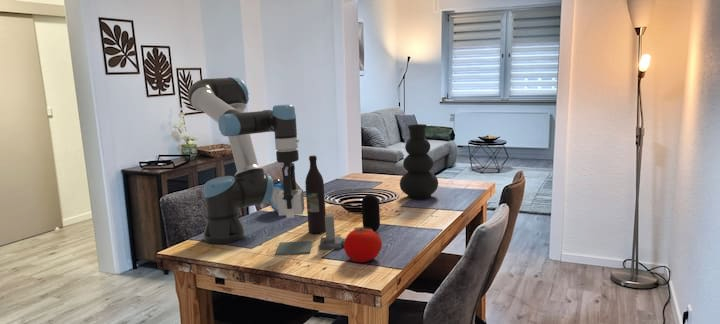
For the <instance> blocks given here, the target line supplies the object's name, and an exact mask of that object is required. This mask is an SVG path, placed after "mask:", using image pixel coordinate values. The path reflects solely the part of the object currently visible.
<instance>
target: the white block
mask: <svg viewBox="0 0 720 324" xmlns="http://www.w3.org/2000/svg"><path fill="white" fill-rule="evenodd" d="M292 197H293V198H292V199H293V202H294V215H295V216H296V215H298V216H299V215H303V213H304V211H305V198H304V189H296V190H292ZM283 198H284V191H280V192H279V194H278V195H277V199H278V211H279V212H278V217H279V216H280V217H281V216H286V206H285V200H283Z"/></svg>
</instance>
